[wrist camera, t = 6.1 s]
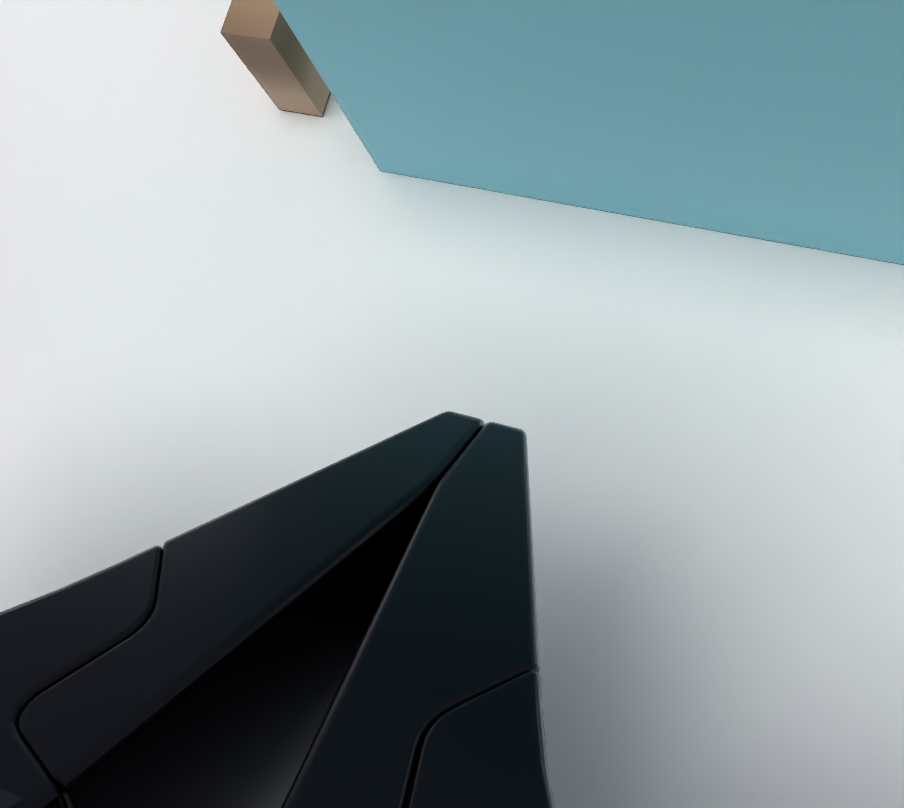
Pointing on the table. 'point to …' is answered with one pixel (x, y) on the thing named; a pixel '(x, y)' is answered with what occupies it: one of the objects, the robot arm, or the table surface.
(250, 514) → the robot arm
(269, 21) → the dock
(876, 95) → the t block
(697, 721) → the table surface
